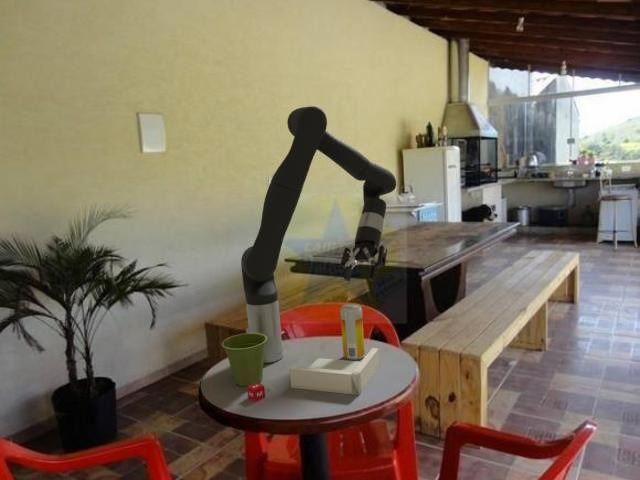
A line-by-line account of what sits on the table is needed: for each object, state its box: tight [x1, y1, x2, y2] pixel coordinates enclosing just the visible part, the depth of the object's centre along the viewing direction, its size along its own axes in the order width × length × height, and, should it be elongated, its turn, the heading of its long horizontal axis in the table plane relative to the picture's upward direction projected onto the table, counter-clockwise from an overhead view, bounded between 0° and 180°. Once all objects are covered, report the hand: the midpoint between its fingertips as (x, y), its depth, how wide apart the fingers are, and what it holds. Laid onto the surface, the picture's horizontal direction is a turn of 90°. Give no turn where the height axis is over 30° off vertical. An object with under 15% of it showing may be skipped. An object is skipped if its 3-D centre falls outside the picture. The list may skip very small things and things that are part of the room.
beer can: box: [340, 303, 366, 361], centre depth 143 cm, size 6×6×15 cm
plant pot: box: [221, 332, 267, 387], centre depth 132 cm, size 12×12×11 cm
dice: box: [246, 382, 266, 402], centre depth 122 cm, size 3×3×3 cm
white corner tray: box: [289, 347, 381, 396], centre depth 131 cm, size 18×18×5 cm
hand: (358, 280), depth 146 cm, fingers open, 8 cm apart
